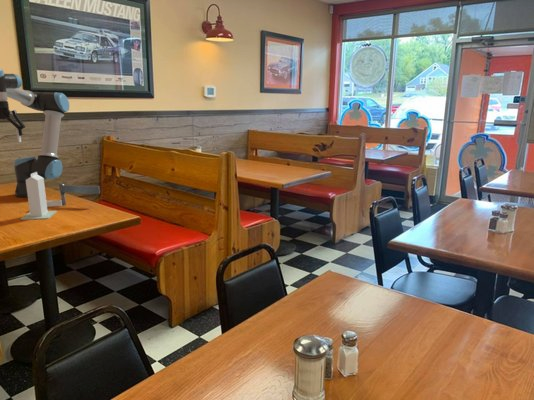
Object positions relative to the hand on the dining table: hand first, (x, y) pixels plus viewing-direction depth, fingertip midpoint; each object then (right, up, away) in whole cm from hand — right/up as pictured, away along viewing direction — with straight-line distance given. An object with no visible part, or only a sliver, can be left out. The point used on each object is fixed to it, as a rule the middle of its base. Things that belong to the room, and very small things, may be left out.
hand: (5, 142), depth 215 cm
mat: (+19, -38, -2) cm, 43 cm away
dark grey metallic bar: (+32, -27, +16) cm, 44 cm away
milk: (+19, -38, -2) cm, 43 cm away
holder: (+17, -35, +12) cm, 40 cm away
